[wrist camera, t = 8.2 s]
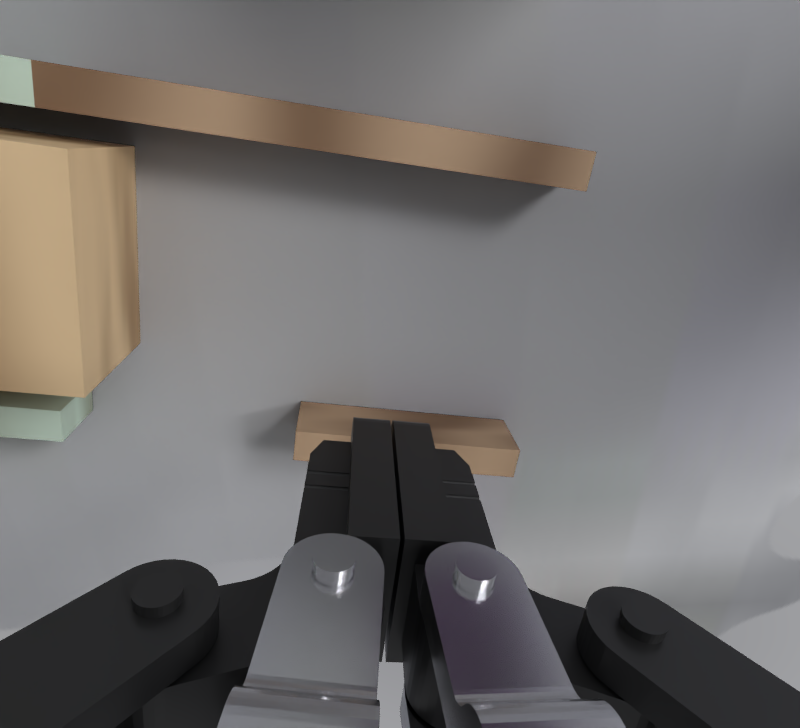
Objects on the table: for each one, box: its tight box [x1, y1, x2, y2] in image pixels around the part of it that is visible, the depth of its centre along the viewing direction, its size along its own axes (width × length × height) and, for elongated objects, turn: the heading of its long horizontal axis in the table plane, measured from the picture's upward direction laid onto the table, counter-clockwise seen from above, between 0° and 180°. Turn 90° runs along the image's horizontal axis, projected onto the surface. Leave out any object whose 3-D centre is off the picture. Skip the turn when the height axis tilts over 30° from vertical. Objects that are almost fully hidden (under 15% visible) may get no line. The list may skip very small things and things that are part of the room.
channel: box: [0, 55, 596, 477], centre depth 19 cm, size 23×12×4 cm, turn 82°
